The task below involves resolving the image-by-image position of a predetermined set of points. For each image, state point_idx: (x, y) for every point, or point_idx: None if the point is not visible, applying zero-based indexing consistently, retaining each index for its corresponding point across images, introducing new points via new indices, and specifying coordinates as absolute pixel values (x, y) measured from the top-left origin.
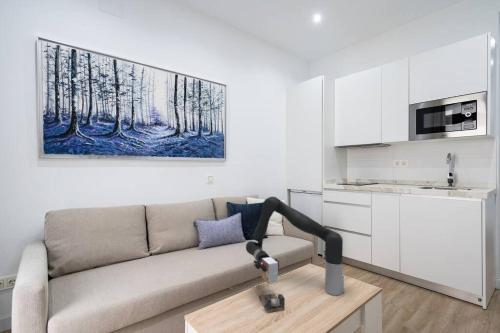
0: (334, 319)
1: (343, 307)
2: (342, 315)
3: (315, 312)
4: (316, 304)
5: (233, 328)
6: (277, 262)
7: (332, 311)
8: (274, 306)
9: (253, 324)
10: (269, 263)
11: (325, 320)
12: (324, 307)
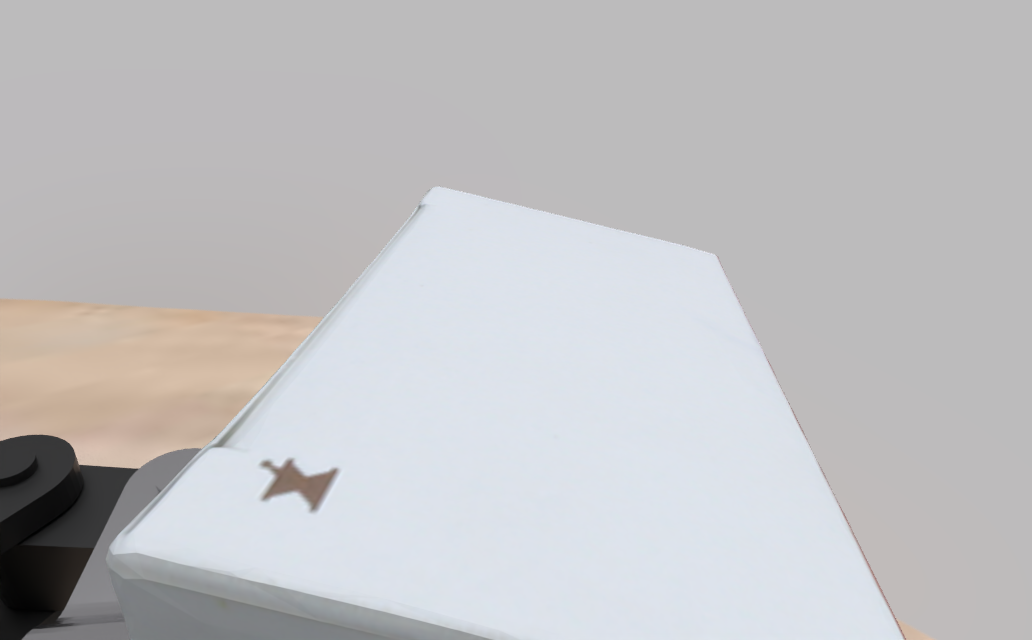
0: (230, 322)
1: (10, 329)
2: (145, 310)
3: (232, 406)
4: (83, 452)
5: (928, 636)
6: (443, 188)
7: (130, 351)
8: None
9: None
10: (688, 250)
11: (281, 343)
12: (100, 398)
